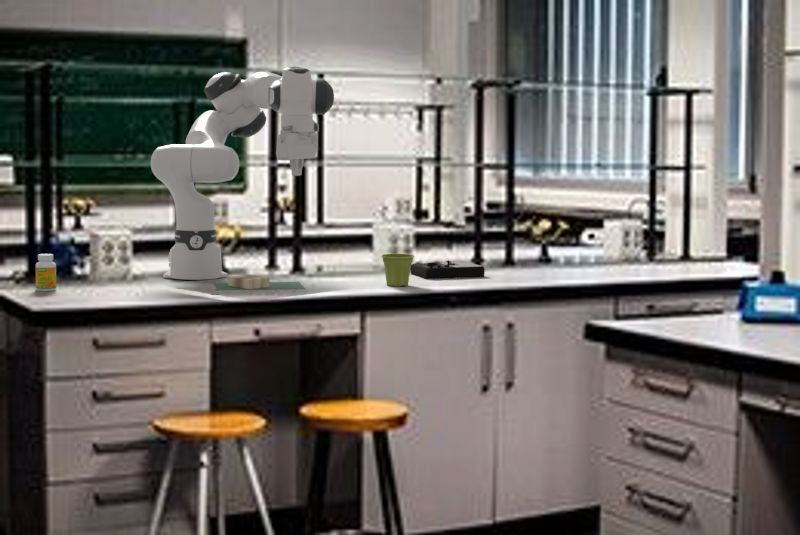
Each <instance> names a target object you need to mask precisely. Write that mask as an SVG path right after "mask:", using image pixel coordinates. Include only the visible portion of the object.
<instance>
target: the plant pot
mask: <svg viewBox="0 0 800 535" xmlns="http://www.w3.org/2000/svg"><path fill="white" fill-rule="evenodd" d="M380 256H381V258H382V262H383V267H384V274H385V280H386V281H385V283H386V286H389V287H397V288H399V287H407V286H409V281H410V275H411V265H412V264H413V259H414V258H415V255H414V254H412V253H411V254H409V253H384V254H381V255H380Z"/></svg>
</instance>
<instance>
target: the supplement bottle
mask: <svg viewBox="0 0 800 535" xmlns="http://www.w3.org/2000/svg"><path fill="white" fill-rule="evenodd" d="M37 260H38V262H36V264H35V290H36V291H37V292H53V291H56V290H57V264H56V262H54V261H53V260H54V254H53V253H40V254H37Z"/></svg>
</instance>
